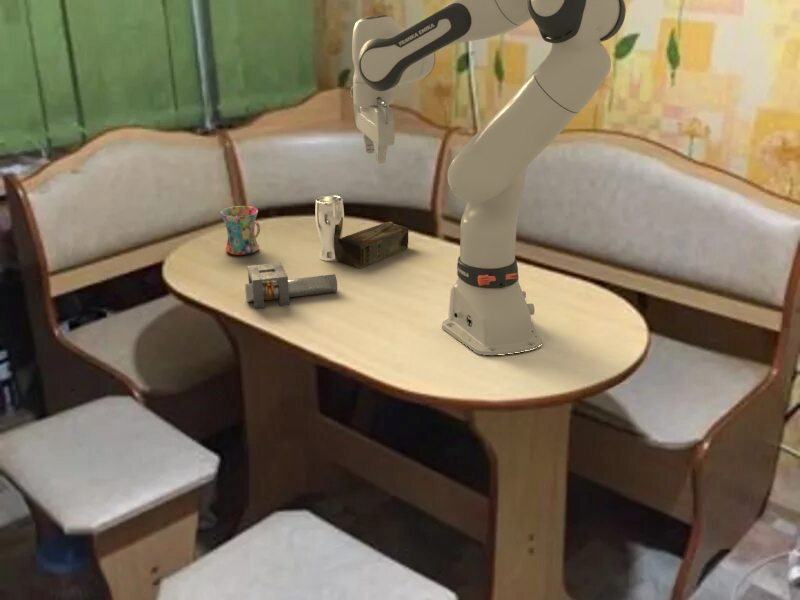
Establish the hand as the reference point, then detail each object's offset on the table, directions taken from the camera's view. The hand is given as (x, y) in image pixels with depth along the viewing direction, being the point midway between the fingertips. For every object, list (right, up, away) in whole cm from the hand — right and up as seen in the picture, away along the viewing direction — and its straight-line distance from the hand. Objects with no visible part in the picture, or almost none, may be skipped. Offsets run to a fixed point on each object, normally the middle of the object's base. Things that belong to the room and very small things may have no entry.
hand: (375, 157), depth 195 cm
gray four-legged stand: (-24, -31, +1) cm, 39 cm away
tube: (-19, -31, +2) cm, 36 cm away
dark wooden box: (-1, -21, +27) cm, 34 cm away
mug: (-34, -20, +29) cm, 49 cm away
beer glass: (-12, -21, +26) cm, 35 cm away
